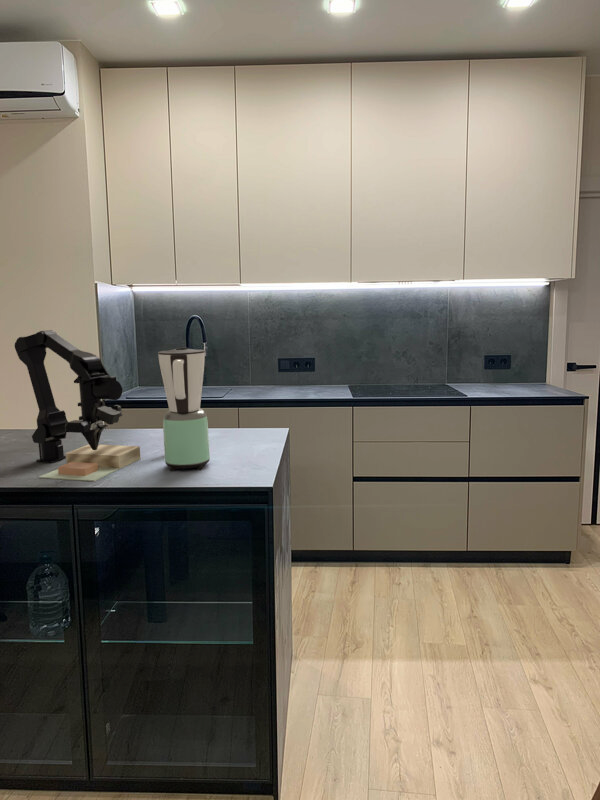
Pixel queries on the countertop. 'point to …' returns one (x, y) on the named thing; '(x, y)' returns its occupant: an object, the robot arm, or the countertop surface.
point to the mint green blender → (184, 409)
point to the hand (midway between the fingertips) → (94, 449)
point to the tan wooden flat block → (105, 455)
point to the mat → (91, 477)
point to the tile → (78, 468)
